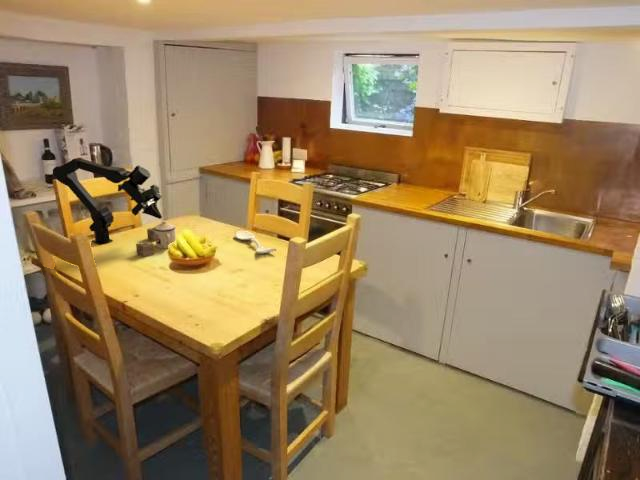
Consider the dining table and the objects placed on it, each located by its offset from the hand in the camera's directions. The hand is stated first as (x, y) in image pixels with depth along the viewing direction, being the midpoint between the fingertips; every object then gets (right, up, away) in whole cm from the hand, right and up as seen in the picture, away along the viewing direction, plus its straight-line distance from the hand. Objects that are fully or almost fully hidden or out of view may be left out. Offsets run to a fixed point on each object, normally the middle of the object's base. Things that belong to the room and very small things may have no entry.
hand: (161, 218), depth 205 cm
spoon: (+39, -13, +11) cm, 43 cm away
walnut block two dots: (-5, -16, -6) cm, 18 cm away
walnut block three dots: (-7, -9, +13) cm, 18 cm away
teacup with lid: (+1, -13, +4) cm, 14 cm away
